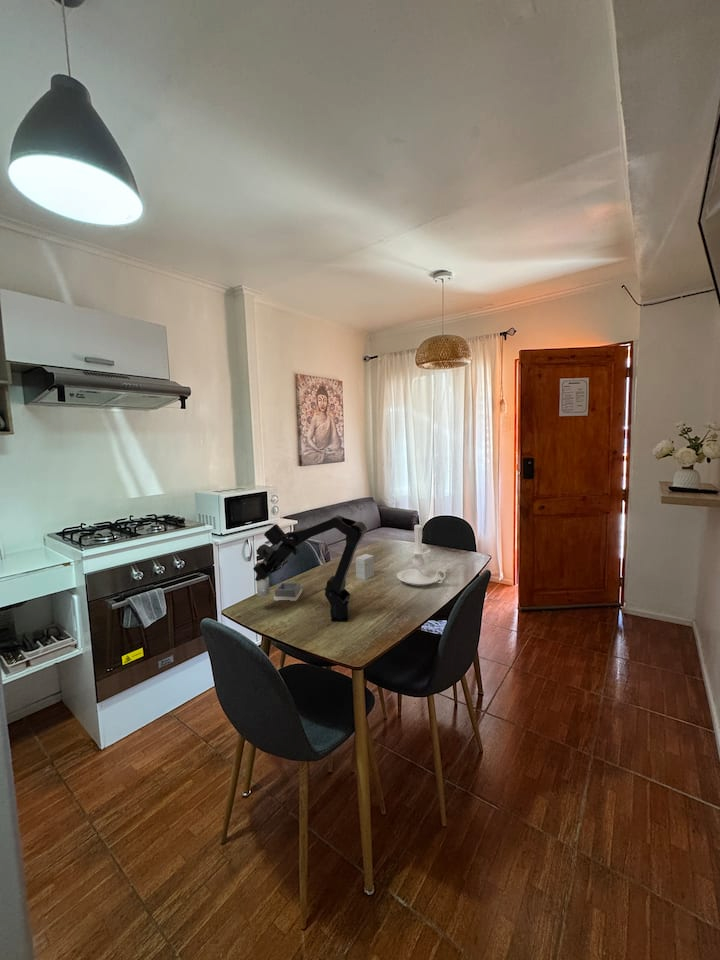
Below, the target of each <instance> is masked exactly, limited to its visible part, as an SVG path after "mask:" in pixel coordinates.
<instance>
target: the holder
mask: <svg viewBox="0 0 720 960" xmlns="http://www.w3.org/2000/svg"><path fill="white" fill-rule="evenodd" d="M301 587H302V585H301V582H290V581H289V582H286V581H285V582H284V581H283V582H280V584H279V585H278V586H277V587H276V588H275V589H274V596H273V600H274V601H279V600H290V601H291V602H296V601H297V600H298V599H299V598H300V595H301V594H303V588H301ZM290 601H289V602H290Z"/></svg>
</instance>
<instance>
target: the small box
mask: <svg viewBox="0 0 720 960" xmlns="http://www.w3.org/2000/svg"><path fill="white" fill-rule="evenodd" d="M355 573H356V574H355V576H356V579H358V578H359V580H362V579H363V581H367V580H369V579H371V578H373V577H374V576H375V556H374V555H372V554H368V553H365V554H362V555H359V556H357V557H355Z"/></svg>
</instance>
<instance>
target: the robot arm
mask: <svg viewBox="0 0 720 960" xmlns="http://www.w3.org/2000/svg"><path fill="white" fill-rule="evenodd" d="M333 529H336V530H337V531H339V532H340V533H342V534H344V535H345V547H344V550H343V552H342V554H341V557H340V560H339V563H338V567H337V568H336V572H335V574H334V575H332V576H331V577H330V578H329V579H328V580H326V581H327V582H326V587H325V588H324V589H323V591H324V596H325V599H326V600H328V601H327V602H328V604H329V605H330V609H329V610H330V618H331V619H330V621H331V622H348V621H349V618H350V616H351V613H350V606H349V600H350V598H351V593H350V592H349V591H348V590H347V589H346V584H347V583H346V577H347V575H348V573H349V570H350V567H351V564H352V561H353V559H354V556H355V553H356V550H357V548H358V545H360V543H361V541H362V540H363V538H364V537H365V535H366V533H367V531H368V530H367V527H366V524H364V522H362V521H355V520H353V519H350V518H347V517H344V516H342V515H335V516H333V517H330V518H329V519H326V520H324V521H321V522H318V523H316V524H314V525H312V526H308V527H307V526H306V527H302V528H296V529H295V530H292V531H287V532H286V533H285V532H284V530H282V528H281V527H280V526H279V524H277V523H276V524H274V525H273V526H272V527H269V529H268V530H266V531H265V533H264V534H263V536H264V537H265V538H266V539H267V540H268V542H270V544H271V545H272V546H278V547H277V548H276V549H274V547H271V546H269V545H267V544H265V543H264V544H260V546H258V548H257V549H256V555H257V556H259V557H262V558H264V561H265V563H266V565H267V566H266V565H265V564H264V563H262V562H258V563H259V564H257V563H256V564H257V565H256V564H255V565H256V566H255V565H254V567H253V571H254V573H255V574H256V573H257V576H256V575H255V578H254V580H255V582H256V581H259V580H262V579H263V580H265V579H266V578H268V577H271V574H273V573H276V572H277V571H279V570H280V569H281V568H283V567H285V566H286V565H287V564H288V561H289V557H290V556H291V555H292V554H293V555H294V556H297V555H298V554H300V552H301V551H300V547H299V545H301V544H302V543H304V542H306V541H307V540H309V539H311V538H312V537H316V536H318V535H320V534H322V533H324V532H327V531H330V530H333Z"/></svg>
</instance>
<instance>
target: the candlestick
mask: <svg viewBox="0 0 720 960" xmlns="http://www.w3.org/2000/svg"><path fill="white" fill-rule="evenodd" d="M413 529H414V530H413V531H414V532H413V533H414V546H412V547H408V548H407V549H406V552H407V553H409V554H412V555H414V557H413V559H412V565H413V567H414V568H408V569H403V570H401V571H399V572H397V574H396V577H397V578H398V580H400V581H402V582H404V583H406V584H408V585H412V586H419V587H421V586H428V585H432V584H433V583H436V584H437V583H438V584H442V583H443V581H444V580H445V579H446V578H447V574H446V572H448V570H447V569H442V568H440V569H438V570H436V571H435V570H433V569H430V568H429V569H427V568H423V567H424V566H425V565H426V563H425V558H424V557H423V555H424V554H428V553H430V552H431V551H432V550H431V549H430V548H428V547H424V546H422V545H423V544H422V543H423V542H422V540H423V526H422V525H421V524H414V528H413ZM439 572H442V573H443V577H442V576H441V574H440V573H439Z"/></svg>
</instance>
